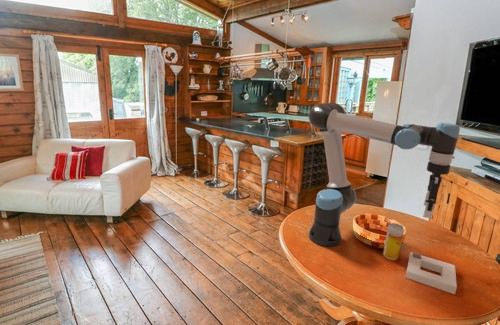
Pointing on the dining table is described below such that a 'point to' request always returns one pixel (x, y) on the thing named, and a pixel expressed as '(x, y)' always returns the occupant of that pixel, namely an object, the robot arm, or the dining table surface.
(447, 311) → the dining table surface
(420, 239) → the dining table surface
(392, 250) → the beer can
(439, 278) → the socket plate
